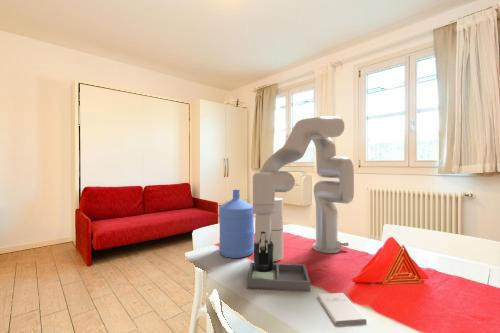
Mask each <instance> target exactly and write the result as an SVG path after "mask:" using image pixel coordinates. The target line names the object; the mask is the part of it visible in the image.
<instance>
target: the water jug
mask: <svg viewBox="0 0 500 333" xmlns="http://www.w3.org/2000/svg"><path fill="white" fill-rule="evenodd" d="M254 215H255V214H254V213H253V204H251V203H249V202H247V201H245V200H243V199H241V197H240V189H233V190H232V199H230V200H228V201H227V202H223V204H221V205H220V206H219V210H218V218H219V219H218V220H219V221H218V222H219V246H218V250H219V254H220V255H221V256H223V257H226V258H229V259H241V258H246V257H249V256H251V255H252V254H254V243H255V225H254V224H255V223H254V222H255V220H254Z"/></svg>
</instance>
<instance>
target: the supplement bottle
mask: <svg viewBox="0 0 500 333" xmlns="http://www.w3.org/2000/svg"><path fill="white" fill-rule="evenodd" d="M270 240H271V234H270ZM265 243H266V241H265ZM265 247H266V245H265ZM267 252H268V265H260V264H259V243H257V244H256V243H255V242H254V252H253V263H254V268H255V270H257V271H259V272H269V271H271V270H273V268H274V262H275V261H274V245H273V242H272V241H270V243H269V244H268V251H267Z"/></svg>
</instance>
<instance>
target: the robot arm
mask: <svg viewBox="0 0 500 333" xmlns="http://www.w3.org/2000/svg"><path fill="white" fill-rule="evenodd" d="M344 130H345V121H344V120H343V119H342V117H340V116H338V115H334V116H331V115H330V116H315V117H310V118H302V119H299V120H298V121H297V122H296V123H295V124H294V126H293V127H292V130H291V131H290V134H289V135H288V137H287V139H286V142H284V144H283V146H282V147H281V148H279V149H278V150H277V151H275V152H274V153H272V154H271V155H270V156H269V157H268V158H267V159H266V160H265V162H264V163H263V165H262V167H261V168H260V170H259V172H255V173H253V175H252V205H253V213H254V215H255V220H254V222H255V223H254V224H255V225H254V243H256V244H257V243H259V264H260V265H268V252H267V251H268V244H269V243H270V234H271V214H274V213H275V198H276V196H275V193H288V192H291V190H293V188H294V187H295V178H294V176H293V174H291V173H290V172H288V171H285V170H283V171H282V170H281V169H282V168H283V167H285V166H286V165H290V164H291V163H294V162H296V161H298V160H301V159H302V158H303V157H304V156H305V154H306V151H307V150H308V147H309V145H310V143H311V141H312V142H313V144H314V146H315V155H316V158H315V159H316V173H317V176H319V177H321V178H326V179H338V180H339V181H338V180H336V181H335V180H319V181H318V182H316V183H315V184H314V187H313V195H314V200H315V242H314V243H313V244H312V249H313V250H314V251H316V252H319V253H323V254H337V253H339V252H341V250H342V248H341V247H349V245H350V244H349V242H348V241H344V240H343V239H342V240H339V239H338V209H337V207H336V204H335V203H337V204H343V205H344V204H346V205H347V204H350V203H351V202H352V201H354V200H353V199H354V196H355V172H354V171H355V170H354V164H353V161H352V160H351V159H350V158H349V157H347V156H337V153H336V144H335V143H334V141H333V139H332V138H337V137H340V136H341V135H342V134H343V133H344ZM265 241H266V243H265ZM265 245H266V247H265Z"/></svg>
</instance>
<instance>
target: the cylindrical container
mask: <svg viewBox="0 0 500 333" xmlns="http://www.w3.org/2000/svg"><path fill="white" fill-rule="evenodd" d="M270 241H272V242H273V245H274V262H278V260H280V261H283V259H284V198H282V197H275V213H274V214H271V240H270Z"/></svg>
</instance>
